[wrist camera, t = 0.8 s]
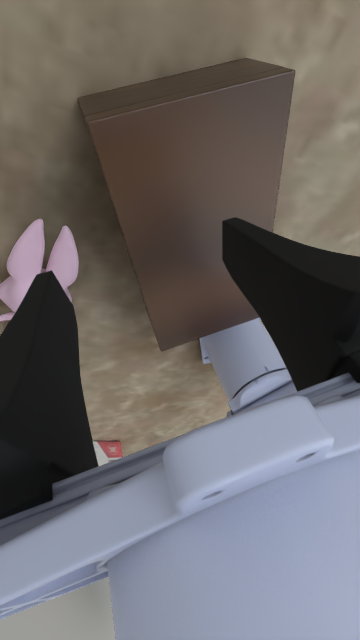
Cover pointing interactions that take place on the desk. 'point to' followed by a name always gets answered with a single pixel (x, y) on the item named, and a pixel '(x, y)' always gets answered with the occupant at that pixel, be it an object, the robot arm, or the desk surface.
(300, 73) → the desk surface
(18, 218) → the desk surface
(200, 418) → the desk surface
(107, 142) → the rack
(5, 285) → the rabbit figure
